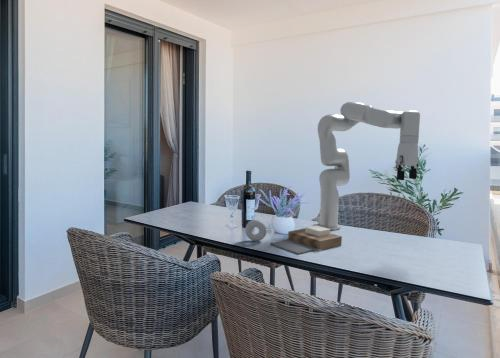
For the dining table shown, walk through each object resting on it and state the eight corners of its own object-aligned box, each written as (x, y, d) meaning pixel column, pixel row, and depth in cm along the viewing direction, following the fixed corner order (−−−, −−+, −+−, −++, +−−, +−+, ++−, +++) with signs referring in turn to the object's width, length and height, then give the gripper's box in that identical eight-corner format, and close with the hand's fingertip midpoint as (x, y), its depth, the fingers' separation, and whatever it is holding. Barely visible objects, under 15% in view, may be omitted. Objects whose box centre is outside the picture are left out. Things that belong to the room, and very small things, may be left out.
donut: (244, 241, 174) (244, 220, 173) (245, 239, 177) (246, 218, 176) (265, 242, 172) (266, 221, 171) (266, 240, 175) (267, 219, 174)
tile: (305, 232, 176) (305, 227, 176) (315, 230, 180) (315, 225, 180) (319, 236, 169) (319, 231, 168) (330, 234, 173) (330, 229, 173)
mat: (270, 244, 169) (270, 243, 169) (288, 240, 176) (288, 239, 176) (298, 254, 155) (298, 253, 155) (316, 250, 162) (316, 248, 162)
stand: (288, 239, 177) (288, 231, 177) (309, 235, 186) (309, 227, 185) (320, 250, 161) (320, 241, 161) (341, 245, 170) (341, 236, 169)
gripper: (411, 140, 171) (409, 177, 173) (389, 139, 160) (387, 179, 162) (427, 140, 165) (425, 179, 167) (406, 140, 155) (403, 181, 156)
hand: (406, 179), depth 165 cm, fingers open, 9 cm apart
